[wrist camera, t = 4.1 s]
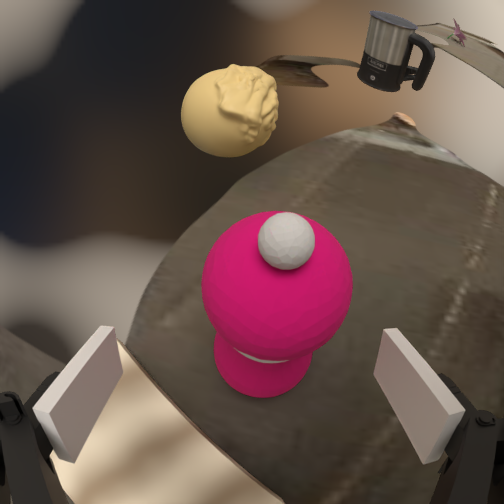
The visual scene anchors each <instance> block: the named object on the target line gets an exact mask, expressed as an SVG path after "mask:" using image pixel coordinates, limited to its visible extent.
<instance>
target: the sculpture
mask: <svg viewBox="0 0 504 504" xmlns="http://www.w3.org/2000/svg"><path fill="white" fill-rule="evenodd" d="M276 89H277V88H276V82H275V79H274V78H273V77H272V76H270V75H268V74H266V73H265V72H264V71H262V70H261V69H259V68H256V67H246V66H242V67H240V66H237V65H234V64H232V65H230V66H229V67H228V68H226V69H220V70H215V71H212V72H209V73H207V74H205V75H203V76H201V77H200V78H199V79H197V80H196V81H195V82H194V83H193V84H192V85H191V87H190V88H189V90H188V91H187V93H186V95H185V98H184V101H183V105H182V111H181V118H182V125H183V128H184V131H185V133H186V135H187V137H188V138H189V140H190V141H191V142H192V143H193V144H194V145H195V146H196V147H197V148H198V149H200V150H201V151H203V152H205V153H208V154H210V155H214V156H218V157H239V156H243V155H246V154H248V153H250V152H251V151H253V150H255V149H256V148H257V147H259V146H262V145H264V144H265V143H266V141H267V140H268V139H269V138H270V136H271V133H272V131H273V130H275V128H276V124H275V121H276V120H277V119H278V112H277V110H278V105H279V102H278V99H277V93H276V92H275V91H276Z"/></svg>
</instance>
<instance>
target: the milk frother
mask: <svg viewBox="0 0 504 504" xmlns="http://www.w3.org/2000/svg"><path fill="white" fill-rule="evenodd" d="M370 14H371V17H370V23H369V28H368V33H367V38H366V43H365V49H364V54H363V58H362V61H361V65H360V69H359V71H358V73H357V76H358V78H359V79H360V80H361V81H362V82H363V83H365V84H367V85H369V86H371V87H373V88H376V89H378V90H382V91H387V92H396V91H398V90H400V84H401V83H402V82H403V81H407V80H414V81H413V83H412V88H413V89H414V90H416V91H418V90H420V89H421V88H422V87H423V85H424V83H425V81H426V78H427V76H428V74H429V72H430V69H431V67H432V65H433V62H434V60H435V51H434V48H433V46H432V44H431V43H430V42H429V41H428V40H427V39H425V38H424V37H422V36H420V35H418V34H416V33H415V30H416V29H418V27H417V26H416V25H415V24H413V23H412V22H410V21H408V20H406V19H404V18H401V17H398V16H395V15H392V14H389V13H385V12H380V11H370ZM413 45H416V46H418V47H419V48H420V49H421V50H422V52H423V58H422V60H421V63H420V66H419V68H415V67H412V66H408V62H409V59H410V55H411V52H412V48H413ZM411 74H416V75H411Z"/></svg>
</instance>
